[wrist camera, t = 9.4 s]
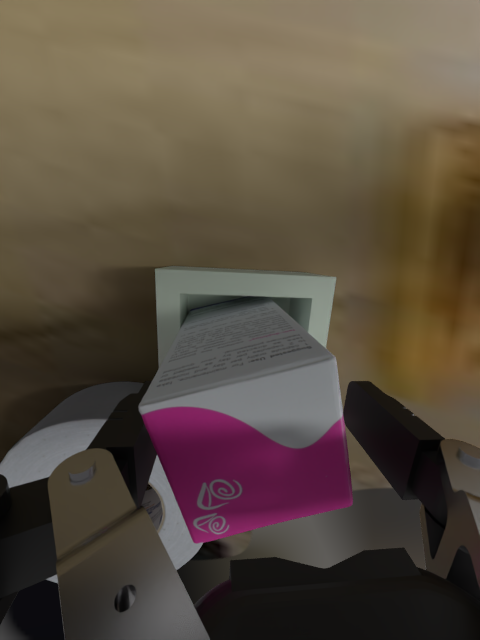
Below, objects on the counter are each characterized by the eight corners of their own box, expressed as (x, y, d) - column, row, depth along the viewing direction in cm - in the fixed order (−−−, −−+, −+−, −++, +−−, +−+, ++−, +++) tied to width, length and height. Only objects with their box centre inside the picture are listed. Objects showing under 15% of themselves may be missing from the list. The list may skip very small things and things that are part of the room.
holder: (304, 272, 18) (336, 277, 13) (291, 388, 21) (313, 427, 16) (172, 265, 17) (154, 268, 12) (174, 388, 20) (161, 431, 15)
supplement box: (186, 309, 17) (129, 404, 6) (265, 290, 17) (350, 348, 6) (206, 379, 19) (191, 555, 8) (278, 361, 19) (366, 507, 8)
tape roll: (-3, 453, 20) (-75, 516, 15) (133, 344, 19) (103, 374, 14) (129, 545, 24) (107, 619, 19) (249, 460, 23) (258, 516, 18)
